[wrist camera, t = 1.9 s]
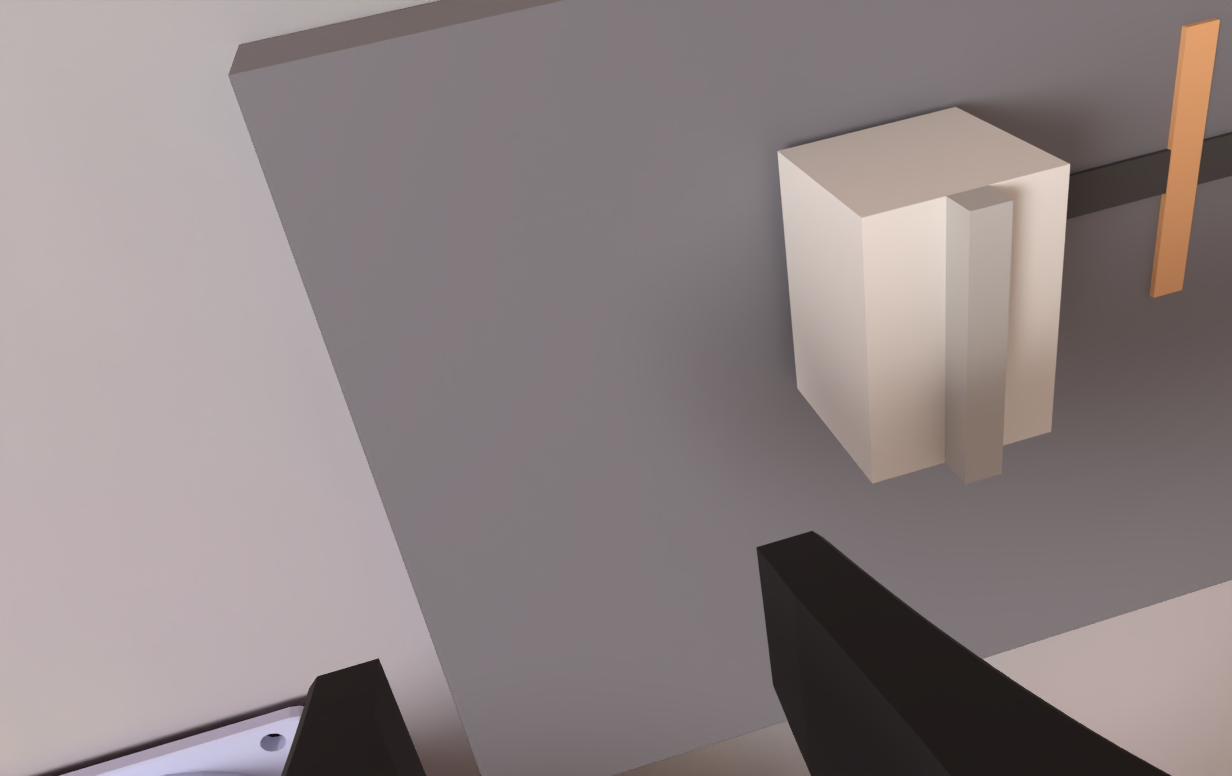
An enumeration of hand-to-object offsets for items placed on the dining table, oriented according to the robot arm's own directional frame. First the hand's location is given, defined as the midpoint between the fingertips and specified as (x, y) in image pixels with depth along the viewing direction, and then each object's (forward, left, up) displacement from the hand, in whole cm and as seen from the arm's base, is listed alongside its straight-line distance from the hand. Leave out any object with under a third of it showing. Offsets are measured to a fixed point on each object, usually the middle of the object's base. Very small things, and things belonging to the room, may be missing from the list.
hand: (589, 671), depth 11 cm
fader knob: (+7, 0, -7) cm, 10 cm away
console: (+6, -3, -9) cm, 12 cm away
